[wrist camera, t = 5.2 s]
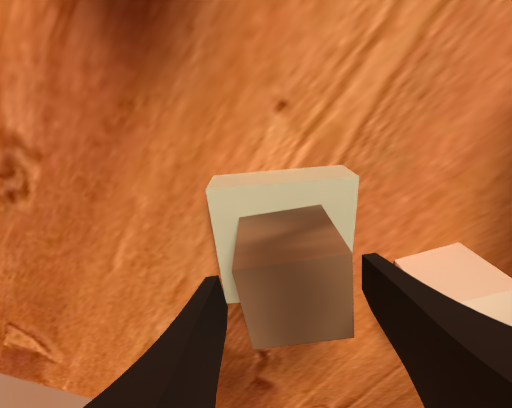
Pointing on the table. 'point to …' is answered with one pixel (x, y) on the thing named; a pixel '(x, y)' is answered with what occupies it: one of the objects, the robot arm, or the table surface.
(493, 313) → the cream cube
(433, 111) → the table surface
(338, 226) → the sage slab
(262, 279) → the walnut cube
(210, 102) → the table surface
